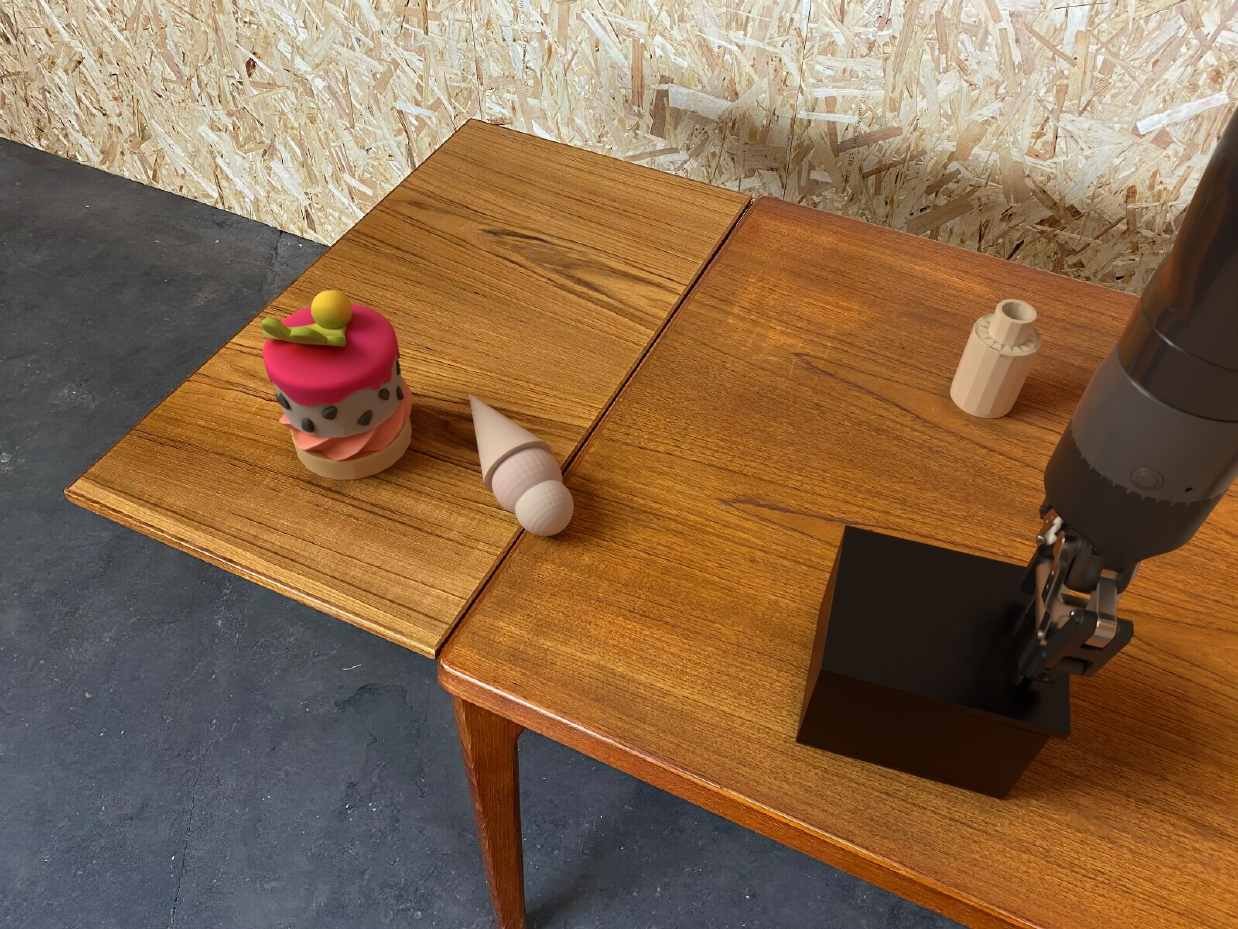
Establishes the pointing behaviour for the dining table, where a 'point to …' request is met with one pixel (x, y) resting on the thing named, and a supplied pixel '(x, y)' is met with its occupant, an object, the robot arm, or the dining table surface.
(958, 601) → the bin lid
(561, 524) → the ice cream cone
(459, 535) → the dining table surface
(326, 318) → the cake
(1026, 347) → the bottle
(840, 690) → the bin
